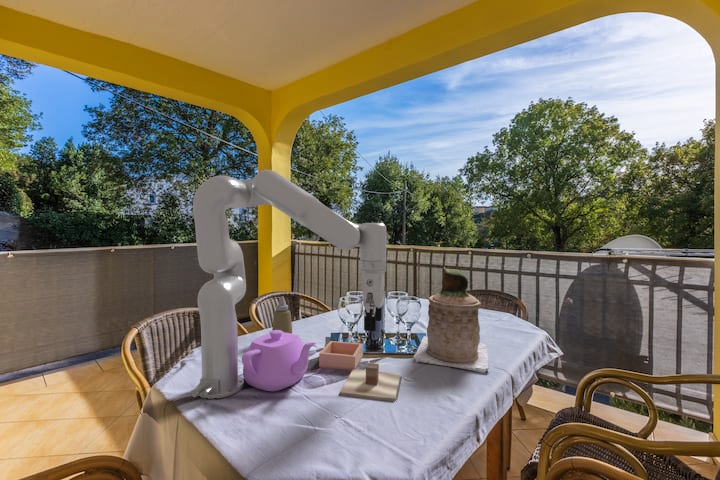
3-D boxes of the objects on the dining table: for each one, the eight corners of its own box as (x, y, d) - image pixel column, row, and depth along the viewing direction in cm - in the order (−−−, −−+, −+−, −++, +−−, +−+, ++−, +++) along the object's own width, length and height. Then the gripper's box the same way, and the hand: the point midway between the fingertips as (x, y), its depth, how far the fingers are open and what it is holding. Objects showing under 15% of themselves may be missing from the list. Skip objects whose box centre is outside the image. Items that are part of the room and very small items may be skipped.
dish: (355, 372, 107) (355, 356, 107) (319, 368, 110) (319, 353, 109) (362, 357, 119) (363, 343, 118) (330, 354, 121) (330, 340, 121)
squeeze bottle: (290, 344, 131) (289, 298, 130) (269, 344, 131) (269, 298, 130) (294, 337, 139) (294, 294, 138) (275, 337, 139) (274, 294, 138)
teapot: (223, 391, 94) (222, 338, 94) (276, 364, 113) (276, 319, 112) (284, 414, 83) (284, 354, 82) (332, 380, 101) (332, 331, 101)
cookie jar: (489, 375, 106) (492, 274, 104) (412, 364, 114) (413, 270, 112) (487, 347, 129) (489, 265, 128) (422, 340, 137) (423, 262, 136)
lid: (394, 401, 89) (395, 379, 88) (340, 394, 92) (340, 374, 92) (400, 376, 103) (400, 357, 103) (353, 371, 107) (353, 353, 106)
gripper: (381, 270, 87) (381, 336, 88) (390, 263, 104) (390, 317, 104) (353, 269, 88) (353, 334, 89) (366, 262, 105) (366, 316, 106)
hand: (373, 325), depth 97 cm, fingers open, 9 cm apart
